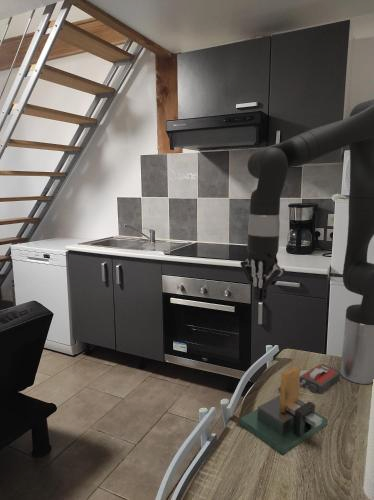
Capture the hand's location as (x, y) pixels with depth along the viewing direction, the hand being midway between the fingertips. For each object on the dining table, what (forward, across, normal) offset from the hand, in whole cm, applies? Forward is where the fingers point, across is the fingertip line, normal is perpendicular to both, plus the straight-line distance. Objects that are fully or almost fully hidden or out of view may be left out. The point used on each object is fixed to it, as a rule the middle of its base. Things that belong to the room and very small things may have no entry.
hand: (260, 301), depth 92 cm
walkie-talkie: (+26, -7, -15) cm, 30 cm away
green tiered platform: (+25, -13, +5) cm, 29 cm away
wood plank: (+20, -18, +5) cm, 27 cm away
